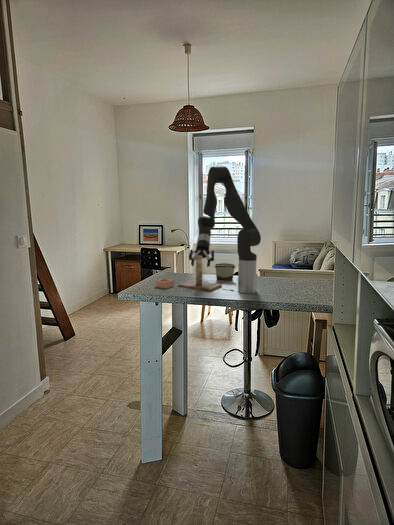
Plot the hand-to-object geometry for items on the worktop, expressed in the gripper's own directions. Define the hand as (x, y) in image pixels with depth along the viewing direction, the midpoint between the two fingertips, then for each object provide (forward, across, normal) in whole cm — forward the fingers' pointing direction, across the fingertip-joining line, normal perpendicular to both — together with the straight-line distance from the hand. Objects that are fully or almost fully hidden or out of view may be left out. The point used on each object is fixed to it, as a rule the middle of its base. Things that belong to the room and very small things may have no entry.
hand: (200, 265), depth 198 cm
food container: (-4, +13, +21) cm, 25 cm away
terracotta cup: (+14, -18, +2) cm, 23 cm away
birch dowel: (+10, 0, +4) cm, 11 cm away
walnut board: (+10, 0, +6) cm, 12 cm away
